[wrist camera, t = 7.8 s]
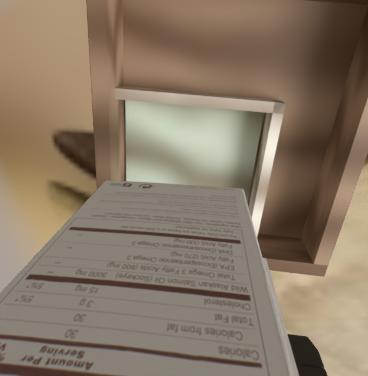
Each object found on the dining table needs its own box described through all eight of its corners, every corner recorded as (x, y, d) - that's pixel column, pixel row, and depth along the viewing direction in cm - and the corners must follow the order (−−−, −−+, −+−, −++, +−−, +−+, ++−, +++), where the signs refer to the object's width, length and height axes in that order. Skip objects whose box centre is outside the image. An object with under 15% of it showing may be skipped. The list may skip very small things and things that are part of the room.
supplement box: (232, 296, 17) (275, 774, 6) (112, 285, 18) (-76, 704, 6) (248, 183, 14) (409, 708, 3) (103, 173, 15) (-299, 580, 3)
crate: (108, -31, 21) (83, -54, 17) (387, -13, 20) (432, -32, 16) (115, 224, 30) (100, 250, 26) (308, 246, 29) (324, 276, 25)
